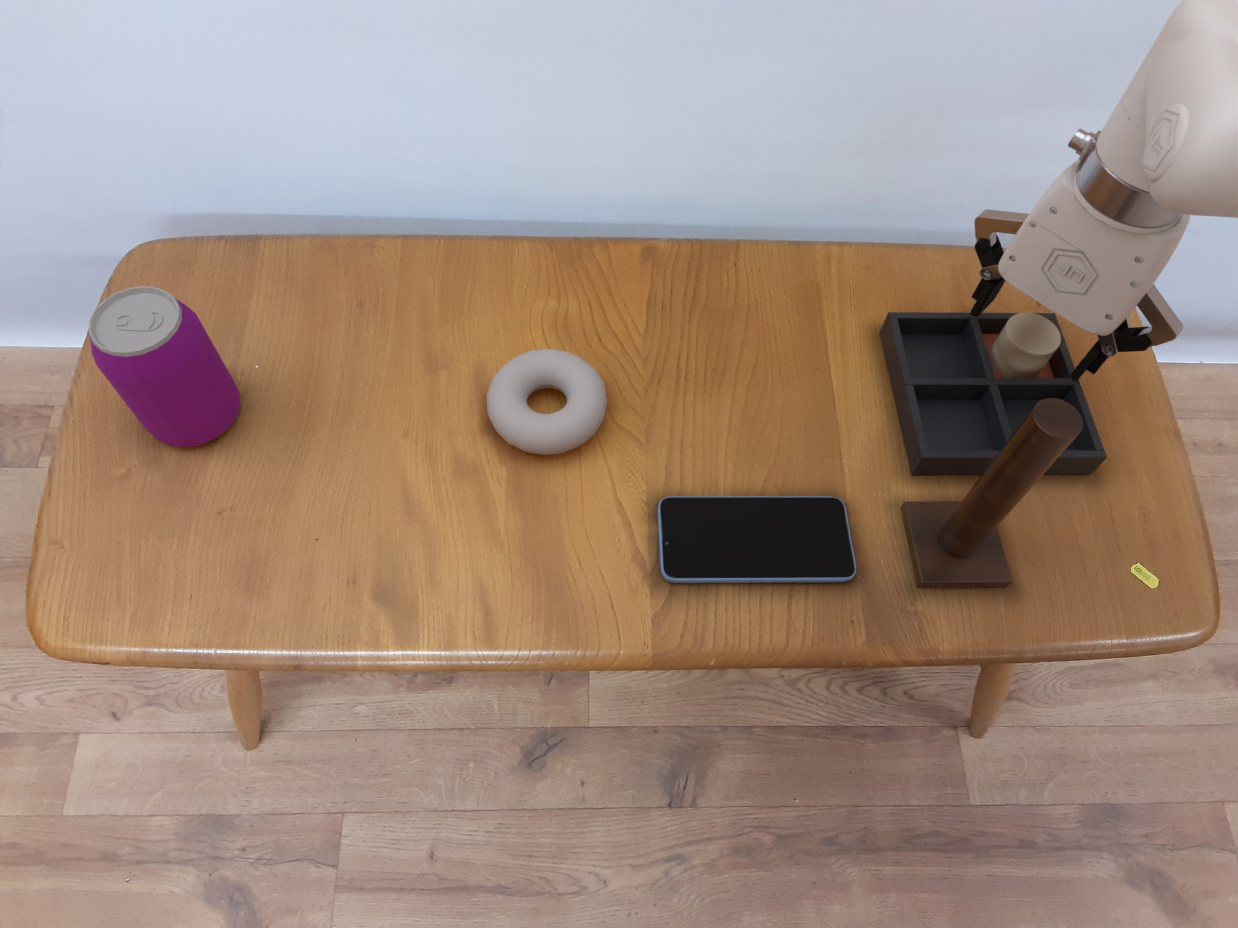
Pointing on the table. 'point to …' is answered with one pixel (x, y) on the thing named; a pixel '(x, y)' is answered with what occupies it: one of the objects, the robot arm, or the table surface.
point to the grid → (973, 394)
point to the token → (1024, 346)
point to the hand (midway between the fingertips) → (1029, 338)
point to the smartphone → (754, 539)
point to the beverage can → (163, 366)
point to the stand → (987, 505)
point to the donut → (552, 428)
